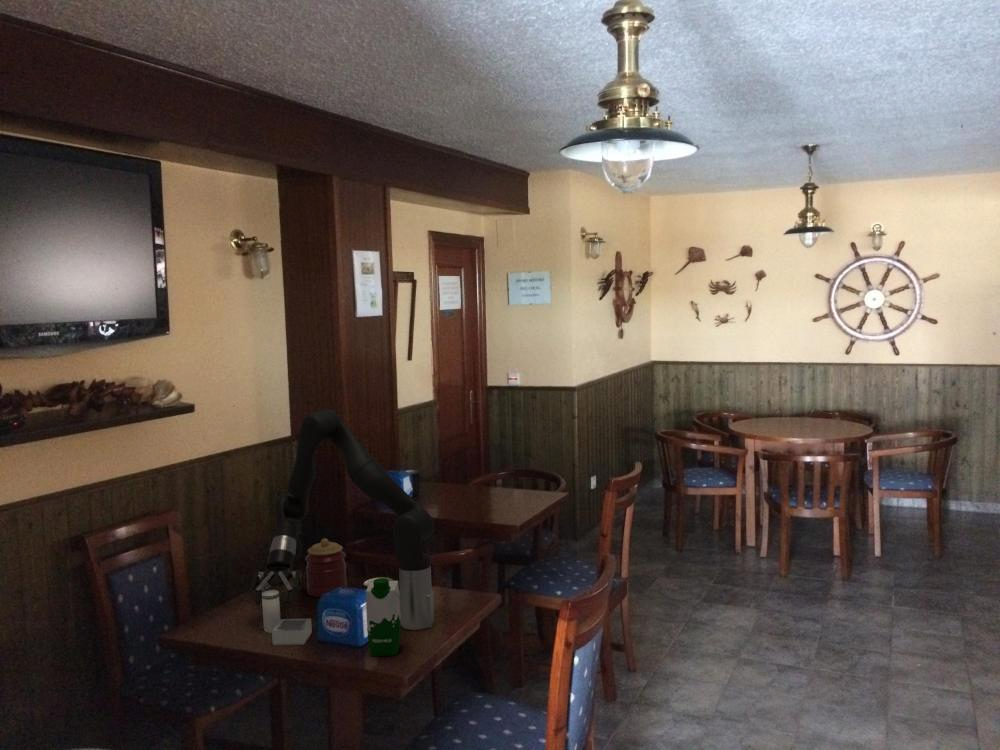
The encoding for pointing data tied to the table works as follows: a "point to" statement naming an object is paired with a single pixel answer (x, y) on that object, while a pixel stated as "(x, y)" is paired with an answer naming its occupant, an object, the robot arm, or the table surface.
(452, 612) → the table surface
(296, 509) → the robot arm
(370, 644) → the milk carton
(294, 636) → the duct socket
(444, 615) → the table surface
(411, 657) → the table surface
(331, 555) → the canister
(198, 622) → the table surface
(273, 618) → the white cylinder
